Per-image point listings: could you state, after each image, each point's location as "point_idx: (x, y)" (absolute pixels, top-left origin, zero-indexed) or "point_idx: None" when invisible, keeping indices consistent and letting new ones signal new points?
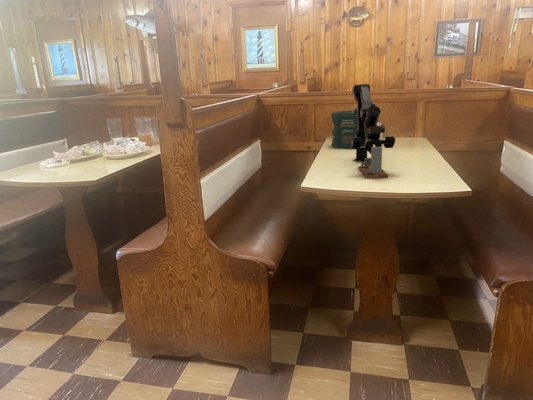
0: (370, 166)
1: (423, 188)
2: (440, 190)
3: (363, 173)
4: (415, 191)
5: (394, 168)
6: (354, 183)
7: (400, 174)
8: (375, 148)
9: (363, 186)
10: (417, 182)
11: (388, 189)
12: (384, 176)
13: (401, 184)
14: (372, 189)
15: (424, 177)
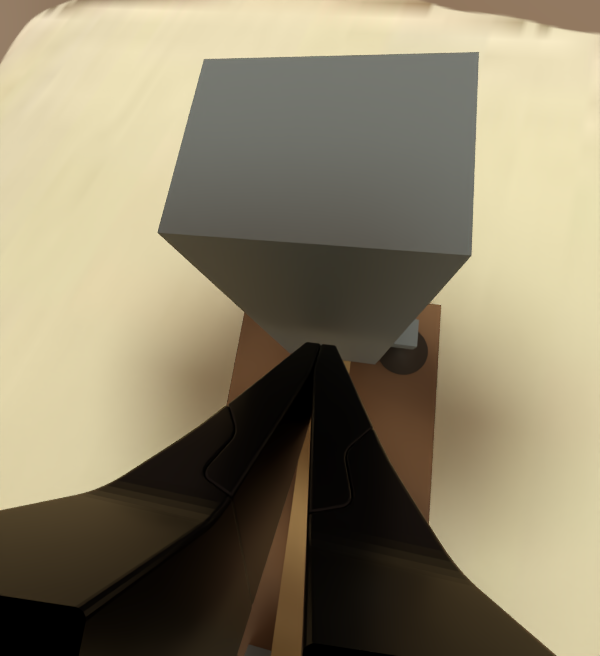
0: (294, 636)
1: (176, 55)
2: (124, 23)
3: (434, 399)
4: (238, 13)
5: None
6: (551, 194)
7: (126, 376)
8: (388, 67)
9: (497, 117)
10: (140, 160)
11: (358, 50)
12: None
13: None
14: None
15: (38, 259)
